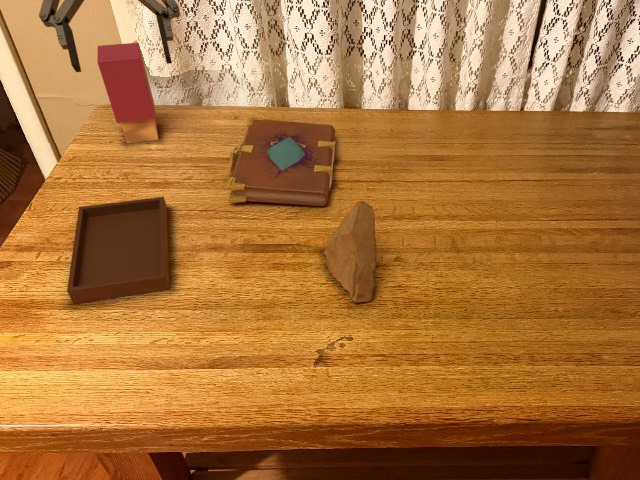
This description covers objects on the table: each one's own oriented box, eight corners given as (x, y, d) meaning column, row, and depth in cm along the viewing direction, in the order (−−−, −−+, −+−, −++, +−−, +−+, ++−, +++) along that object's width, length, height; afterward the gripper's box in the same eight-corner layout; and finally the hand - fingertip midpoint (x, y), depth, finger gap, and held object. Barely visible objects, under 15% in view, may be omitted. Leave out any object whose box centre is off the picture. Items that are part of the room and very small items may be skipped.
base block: (126, 143, 98) (120, 121, 95) (126, 129, 101) (119, 107, 98) (158, 139, 99) (152, 117, 96) (156, 125, 102) (151, 103, 100)
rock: (393, 298, 72) (404, 239, 78) (349, 256, 67) (365, 196, 73) (327, 320, 78) (342, 263, 84) (282, 282, 72) (302, 224, 78)
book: (338, 131, 106) (338, 105, 102) (329, 214, 88) (330, 186, 85) (245, 123, 104) (242, 96, 101) (217, 206, 87) (213, 177, 83)
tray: (84, 219, 83) (78, 206, 82) (167, 209, 86) (163, 196, 84) (73, 304, 72) (66, 290, 70) (169, 289, 74) (165, 276, 73)
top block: (116, 123, 94) (97, 61, 87) (116, 106, 98) (97, 45, 91) (156, 119, 96) (140, 57, 89) (154, 102, 100) (138, 42, 93)
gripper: (-6, -84, 85) (27, 62, 86) (174, -89, 92) (203, 46, 93) (13, -53, 92) (43, 81, 93) (178, -60, 99) (206, 66, 100)
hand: (123, 64), depth 93 cm, fingers open, 13 cm apart
